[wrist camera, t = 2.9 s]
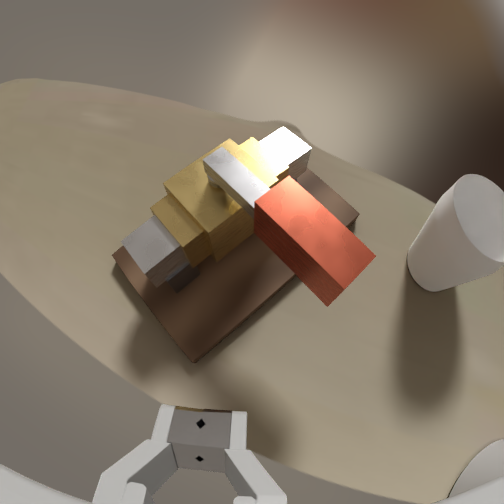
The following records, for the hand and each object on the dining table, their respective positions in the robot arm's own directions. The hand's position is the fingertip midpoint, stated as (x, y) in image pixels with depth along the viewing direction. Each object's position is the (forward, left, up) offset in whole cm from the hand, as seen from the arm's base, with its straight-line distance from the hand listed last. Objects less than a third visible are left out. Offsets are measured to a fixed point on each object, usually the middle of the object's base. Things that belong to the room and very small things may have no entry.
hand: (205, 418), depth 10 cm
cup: (-5, -25, -19) cm, 32 cm away
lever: (+7, -10, -9) cm, 15 cm away
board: (+12, -11, -19) cm, 25 cm away
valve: (+13, -10, -18) cm, 24 cm away
